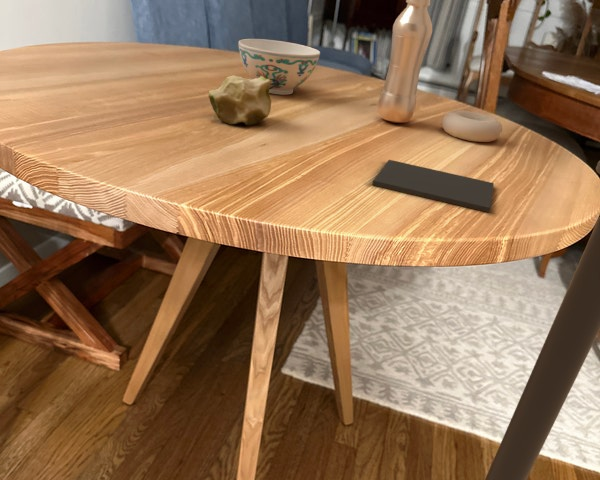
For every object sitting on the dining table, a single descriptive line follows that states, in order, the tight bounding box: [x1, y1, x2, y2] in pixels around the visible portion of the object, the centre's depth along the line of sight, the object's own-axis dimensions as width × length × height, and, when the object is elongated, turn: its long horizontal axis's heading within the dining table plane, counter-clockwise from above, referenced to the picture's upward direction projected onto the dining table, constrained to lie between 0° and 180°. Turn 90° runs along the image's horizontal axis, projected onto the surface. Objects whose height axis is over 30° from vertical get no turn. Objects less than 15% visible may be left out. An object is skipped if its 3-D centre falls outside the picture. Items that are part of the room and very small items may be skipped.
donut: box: [441, 109, 503, 143], centre depth 95 cm, size 10×4×10 cm
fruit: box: [208, 74, 279, 126], centre depth 84 cm, size 9×9×8 cm
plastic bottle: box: [377, 0, 433, 124], centre depth 93 cm, size 6×7×20 cm
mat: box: [371, 159, 495, 213], centre depth 71 cm, size 14×10×1 cm
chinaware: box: [237, 38, 321, 96], centre depth 105 cm, size 15×15×8 cm
